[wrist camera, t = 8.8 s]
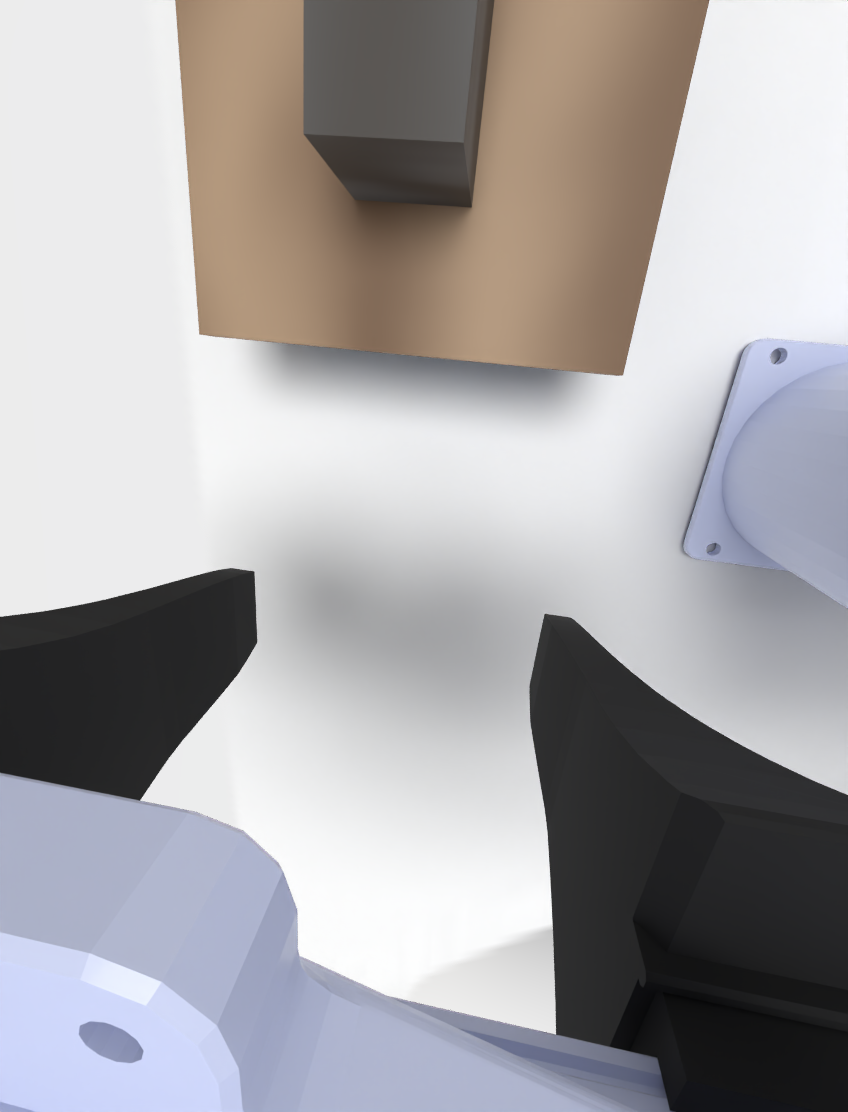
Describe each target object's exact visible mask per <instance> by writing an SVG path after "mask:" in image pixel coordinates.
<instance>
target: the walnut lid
mask: <svg viewBox="0 0 848 1112" xmlns="http://www.w3.org/2000/svg"><path fill="white" fill-rule="evenodd" d="M175 1H176V15H177V29H178V43H179V57H180V71H181V85H182V99H183V112H184V126H185V140H186V154H187V168H188V182H189V196H190V210H191V223H192V237H193V251H194V265H195V279H196V293H197V307H198V321H199V334H201V335H208V336H215V337H225V338H235V339H245V340H256V341H266V342H276V343H287V344H297V345H307V346H317V347H328V348H338V349H348V350H358V351H369V352H379V353H389V354H399V355H410V356H420V357H430V358H441V359H451V360H461V361H471V362H482V363H492V364H502V365H512V366H523V367H533V368H543V369H553V370H564V371H574V372H584V373H595V374H605V375H615V376H619V375H623V373H624V368H625V364H626V360H627V355H628V351H629V347H630V342H631V338H632V334H633V329H634V325H635V321H636V316H637V312H638V308H639V303H640V299H641V295H642V290H643V286H644V282H645V277H646V273H647V269H648V264H649V260H650V256H651V251H652V247H653V242H654V238H655V234H656V229H657V225H658V221H659V216H660V212H661V208H662V203H663V199H664V195H665V190H666V186H667V182H668V177H669V173H670V169H671V164H672V160H673V156H674V151H675V147H676V143H677V138H678V134H679V130H680V125H681V121H682V117H683V112H684V108H685V104H686V99H687V95H688V91H689V86H690V82H691V78H692V73H693V69H694V65H695V60H696V56H697V51H698V47H699V43H700V38H701V34H702V30H703V25H704V21H705V17H706V12H707V8H708V4H709V0H175Z"/></svg>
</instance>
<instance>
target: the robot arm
mask: <svg viewBox="0 0 848 1112" xmlns="http://www.w3.org/2000/svg"><path fill="white" fill-rule="evenodd" d="M775 349H779V351H780V352H781V357H780V359H779V361H778V362H776V363H775V364H773V363H772V362H771V360H770V355H771V353H772V352H773V351H774V350H775ZM711 543H716V548H715V550H713V551H712V552H706V548H707V547H708V545H710V544H711ZM683 548H684V551H685V552H686V553H687V554H688V555H689V556H690V557H691V558H694V559H700V560H708V561H715V562H723V563H731V564H738V565H746V566H753V567H761V568H769V569H776V570H784V571H790V572H792V573H794V574H795V575H797V576H798V577H800V578H801V579H803V580H804V581H806V582H807V583H809V584H810V585H812V586H813V587H815V588H817V589H818V590H820V591H821V592H823V593H824V594H826V595H827V596H829V597H830V598H832V599H833V600H835V601H836V602H838V603H840V604H841V605H843V606H844V607H846V608H847V609H848V346H847V345H836V344H824V343H813V342H801V341H790V340H778V339H760V340H756V341H754V342H752V343H750V344H749V345H748V346H747V347H746V348H745V350H744V352H743V354H742V357H741V361H740V364H739V367H738V370H737V373H736V377H735V380H734V383H733V386H732V389H731V393H730V396H729V399H728V402H727V406H726V409H725V412H724V415H723V418H722V422H721V425H720V428H719V431H718V434H717V438H716V441H715V444H714V447H713V450H712V454H711V457H710V460H709V463H708V467H707V470H706V473H705V476H704V479H703V483H702V486H701V489H700V492H699V495H698V499H697V502H696V505H695V508H694V512H693V515H692V518H691V521H690V524H689V528H688V531H687V534H686V537H685V540H684V545H683ZM256 644H257V625H256V600H255V576H254V571H247V570H240V569H233V568H230V569H222V570H217V571H212V572H208V573H204V574H200V575H197V576H193V577H189V578H185V579H182V580H179V581H175V582H171V583H168V584H164V585H160V586H157V587H153V588H150V589H146V590H142V591H138V592H134V593H130V594H126V595H122V596H118V597H114V598H110V599H106V600H101V601H97V602H92V603H87V604H83V605H78V606H72V607H66V608H61V609H55V610H49V611H44V612H36V613H28V614H20V615H12V616H4V617H0V1112H848V795H846V794H844V793H841V792H839V791H836V790H834V789H831V788H829V787H827V786H824V785H822V784H819V783H817V782H815V781H813V780H810V779H808V778H806V777H804V776H802V775H800V774H798V773H796V772H794V771H791V770H789V769H787V768H785V767H783V766H781V765H779V764H777V763H775V762H773V761H771V760H768V759H767V758H765V757H763V756H761V755H759V754H757V753H755V752H753V751H751V750H749V749H747V748H745V747H743V746H742V745H740V744H738V743H736V742H735V741H733V740H731V739H729V738H728V737H726V736H724V735H722V734H721V733H719V732H717V731H715V730H714V729H712V728H710V727H708V726H707V725H705V724H703V723H702V722H700V721H699V720H697V719H695V718H694V717H692V716H691V715H689V714H688V713H686V712H685V711H683V710H682V709H680V708H679V707H677V706H676V705H674V704H673V703H671V702H670V701H668V700H667V699H666V698H664V697H663V696H661V695H660V694H659V693H657V692H656V691H655V690H653V689H652V688H651V687H649V686H648V685H647V684H646V683H644V682H643V681H642V680H641V679H639V678H638V677H637V676H636V675H634V674H633V673H632V672H631V671H630V670H628V669H627V668H626V667H625V666H624V665H623V664H621V663H620V662H619V661H618V660H617V659H616V658H615V657H613V656H612V655H611V654H610V653H609V652H608V651H607V650H606V649H605V648H604V647H603V646H602V645H600V644H599V643H598V642H597V641H596V640H595V639H594V638H593V637H592V636H591V635H590V634H589V633H588V632H587V631H586V630H585V629H584V628H583V627H581V626H580V625H579V624H578V623H577V622H576V621H575V620H573V619H572V618H569V617H562V616H556V615H549V614H545V615H544V619H543V624H542V629H541V634H540V638H539V643H538V648H537V653H536V658H535V662H534V667H533V672H532V677H531V681H530V722H531V729H532V735H533V741H534V748H535V754H536V760H537V766H538V771H539V777H540V783H541V789H542V795H543V801H544V807H545V814H546V822H547V831H548V846H549V862H550V878H551V898H552V919H553V940H554V971H555V999H556V1035H555V1034H551V1033H547V1032H542V1031H538V1030H533V1029H529V1028H524V1027H520V1026H516V1025H512V1024H507V1023H503V1022H499V1021H494V1020H490V1019H485V1018H481V1017H476V1016H472V1015H467V1014H464V1013H459V1012H455V1011H450V1010H446V1009H441V1008H437V1007H433V1006H429V1005H424V1004H420V1003H416V1002H411V1001H407V1000H402V999H398V998H394V997H389V996H386V995H384V994H382V993H379V992H377V991H375V990H373V989H371V988H369V987H366V986H364V985H362V984H360V983H358V982H356V981H353V980H351V979H349V978H347V977H345V976H343V975H340V974H338V973H336V972H334V971H332V970H330V969H327V968H325V967H323V966H321V965H319V964H316V963H314V962H312V961H310V960H308V959H306V958H303V957H301V956H299V953H298V931H297V908H296V906H295V903H294V900H293V897H292V895H291V892H290V889H289V887H288V884H287V881H286V878H285V876H284V873H283V871H282V869H281V867H280V865H279V863H278V862H277V861H276V860H275V859H274V858H273V857H272V856H271V855H269V854H268V853H267V852H266V851H265V850H264V849H263V848H262V847H261V846H260V845H258V844H257V843H256V842H255V841H254V840H253V839H252V838H251V837H250V836H249V835H247V834H246V833H245V832H244V831H243V830H240V829H238V828H235V827H233V826H230V825H228V824H225V823H223V822H220V821H218V820H215V819H213V818H210V817H208V816H205V815H203V814H200V813H198V812H194V811H189V810H184V809H179V808H174V807H169V806H164V805H159V804H154V803H149V802H144V801H140V799H141V798H142V797H143V795H144V794H145V792H146V791H147V789H148V788H149V786H150V785H151V783H152V782H153V780H154V779H155V777H156V776H157V774H158V773H159V771H160V770H161V768H162V767H163V766H164V764H165V763H166V761H167V760H168V758H169V757H170V756H171V755H172V753H173V752H174V751H175V749H176V748H177V747H178V745H179V744H180V743H181V742H182V740H183V739H184V738H185V737H186V736H187V734H188V733H189V732H190V731H191V730H192V729H193V727H194V726H195V725H196V724H197V723H198V721H199V720H200V719H201V718H202V717H203V715H204V714H205V713H206V712H207V711H208V710H209V708H210V707H211V706H212V705H213V704H214V703H215V701H216V700H217V699H218V698H219V697H220V695H221V694H222V693H223V692H224V691H225V689H226V688H227V687H228V686H229V684H230V683H231V682H232V681H233V680H234V678H235V677H236V676H237V675H238V673H239V672H240V670H241V669H242V667H243V665H244V664H245V662H246V661H247V659H248V657H249V656H250V654H251V652H252V650H253V649H254V647H255V645H256Z"/></svg>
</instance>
